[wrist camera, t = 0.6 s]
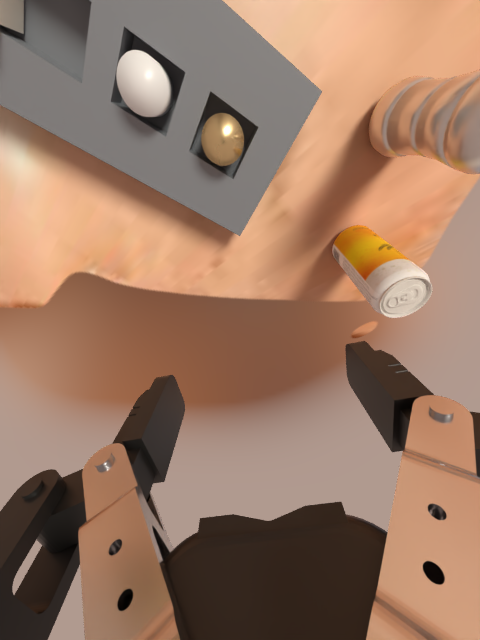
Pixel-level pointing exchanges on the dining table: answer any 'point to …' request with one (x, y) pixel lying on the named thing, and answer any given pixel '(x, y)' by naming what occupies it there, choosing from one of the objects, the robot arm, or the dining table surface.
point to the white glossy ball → (144, 84)
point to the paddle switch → (12, 14)
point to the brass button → (222, 139)
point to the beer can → (381, 272)
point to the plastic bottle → (431, 120)
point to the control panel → (188, 94)
